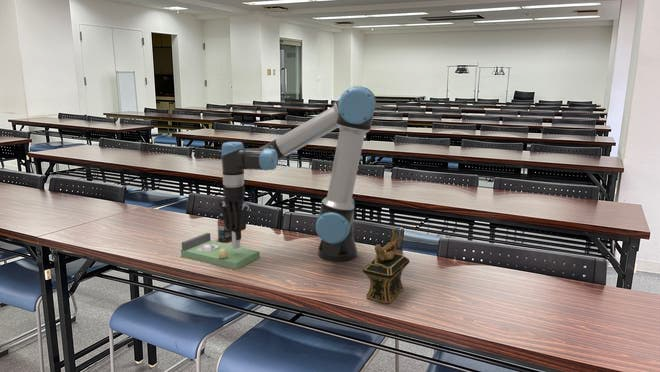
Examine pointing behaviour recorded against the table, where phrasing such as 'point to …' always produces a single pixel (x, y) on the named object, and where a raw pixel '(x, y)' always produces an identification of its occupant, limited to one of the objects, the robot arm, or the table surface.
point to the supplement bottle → (223, 231)
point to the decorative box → (386, 272)
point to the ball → (207, 247)
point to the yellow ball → (223, 253)
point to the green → (233, 259)
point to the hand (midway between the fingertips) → (236, 247)
